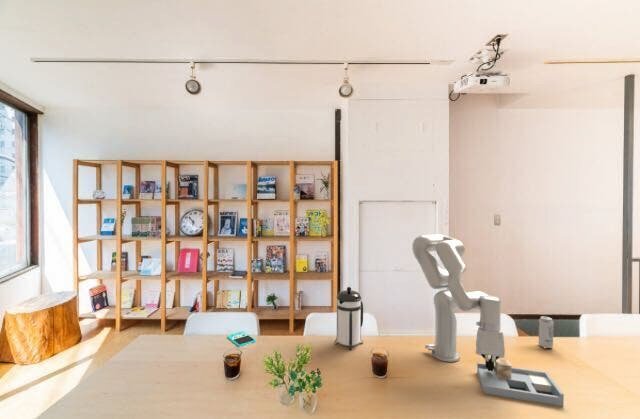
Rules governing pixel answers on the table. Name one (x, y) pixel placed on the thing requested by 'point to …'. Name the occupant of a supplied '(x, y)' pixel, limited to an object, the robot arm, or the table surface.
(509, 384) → the board
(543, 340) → the energy drink can
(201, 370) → the table surface
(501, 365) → the maple cube
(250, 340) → the handheld game console
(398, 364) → the table surface
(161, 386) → the table surface
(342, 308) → the coffee press
